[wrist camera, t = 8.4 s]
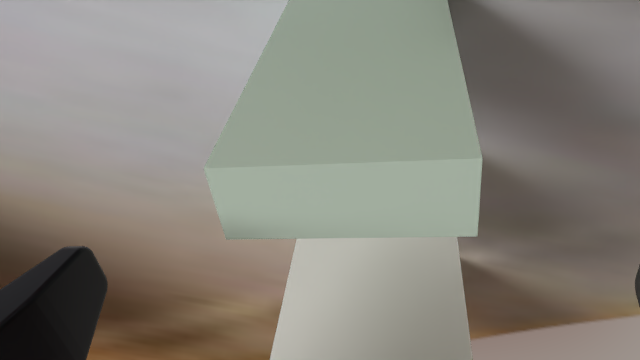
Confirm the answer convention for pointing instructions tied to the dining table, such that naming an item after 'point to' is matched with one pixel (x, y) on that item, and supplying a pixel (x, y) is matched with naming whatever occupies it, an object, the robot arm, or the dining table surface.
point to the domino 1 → (352, 128)
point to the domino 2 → (374, 301)
